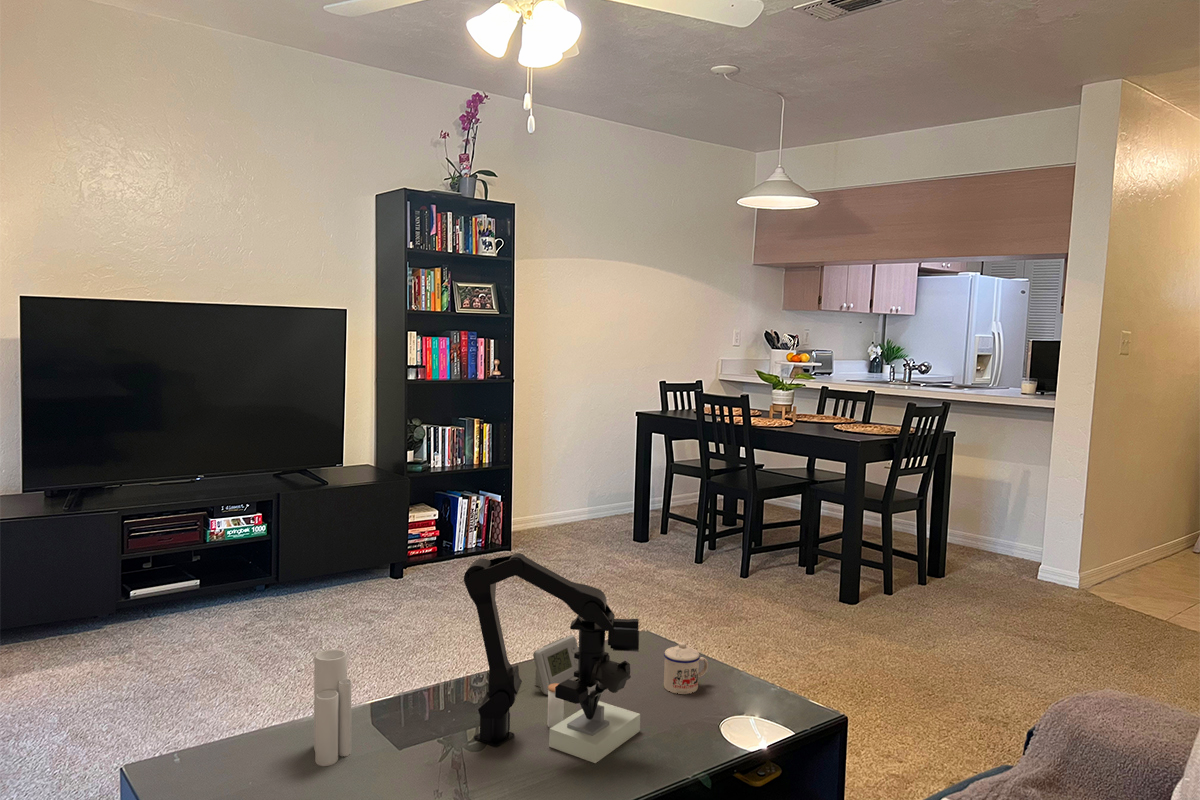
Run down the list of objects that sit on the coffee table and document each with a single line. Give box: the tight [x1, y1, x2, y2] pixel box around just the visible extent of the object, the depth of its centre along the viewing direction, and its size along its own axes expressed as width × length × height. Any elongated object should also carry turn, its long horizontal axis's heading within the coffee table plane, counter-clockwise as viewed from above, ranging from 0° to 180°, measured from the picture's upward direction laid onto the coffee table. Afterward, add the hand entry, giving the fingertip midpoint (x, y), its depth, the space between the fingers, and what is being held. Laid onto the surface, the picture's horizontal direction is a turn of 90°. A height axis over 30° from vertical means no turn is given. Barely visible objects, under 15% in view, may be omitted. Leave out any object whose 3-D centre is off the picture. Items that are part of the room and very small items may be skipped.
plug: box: [546, 683, 565, 729], centre depth 194 cm, size 4×4×9 cm
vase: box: [313, 648, 352, 767], centre depth 178 cm, size 11×7×20 cm, turn 22°
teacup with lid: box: [663, 641, 709, 695], centre depth 217 cm, size 12×9×12 cm
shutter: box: [567, 705, 609, 736], centre depth 185 cm, size 7×7×4 cm
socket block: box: [548, 700, 641, 764], centre depth 188 cm, size 18×12×4 cm, turn 147°
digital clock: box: [532, 634, 579, 695], centre depth 217 cm, size 16×9×11 cm, turn 133°
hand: (589, 718), depth 185 cm, fingers closed
